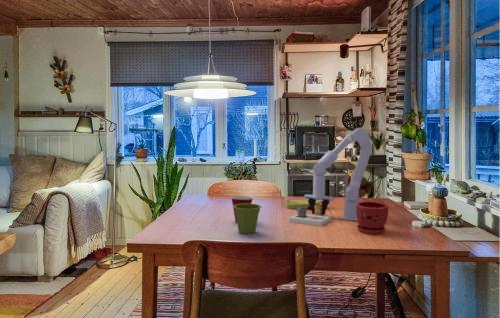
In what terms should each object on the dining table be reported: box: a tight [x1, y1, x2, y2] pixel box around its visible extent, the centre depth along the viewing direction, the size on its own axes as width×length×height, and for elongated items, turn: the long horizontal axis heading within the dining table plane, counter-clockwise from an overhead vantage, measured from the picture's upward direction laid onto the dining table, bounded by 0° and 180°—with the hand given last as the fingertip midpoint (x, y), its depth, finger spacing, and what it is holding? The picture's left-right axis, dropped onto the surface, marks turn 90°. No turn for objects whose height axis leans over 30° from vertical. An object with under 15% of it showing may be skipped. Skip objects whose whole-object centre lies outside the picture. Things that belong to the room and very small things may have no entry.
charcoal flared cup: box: [296, 207, 308, 218], centre depth 201 cm, size 5×5×6 cm
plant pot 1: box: [232, 203, 262, 235], centre depth 179 cm, size 12×12×11 cm
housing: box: [288, 213, 332, 227], centre depth 200 cm, size 16×12×2 cm
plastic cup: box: [230, 195, 254, 223], centre depth 198 cm, size 11×11×12 cm
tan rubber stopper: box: [313, 203, 324, 216], centre depth 209 cm, size 5×5×6 cm
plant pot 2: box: [356, 200, 389, 235], centre depth 180 cm, size 13×13×12 cm
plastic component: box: [285, 195, 323, 210], centre depth 233 cm, size 20×7×10 cm
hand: (318, 214), depth 209 cm, fingers closed on tan rubber stopper, 5 cm apart
